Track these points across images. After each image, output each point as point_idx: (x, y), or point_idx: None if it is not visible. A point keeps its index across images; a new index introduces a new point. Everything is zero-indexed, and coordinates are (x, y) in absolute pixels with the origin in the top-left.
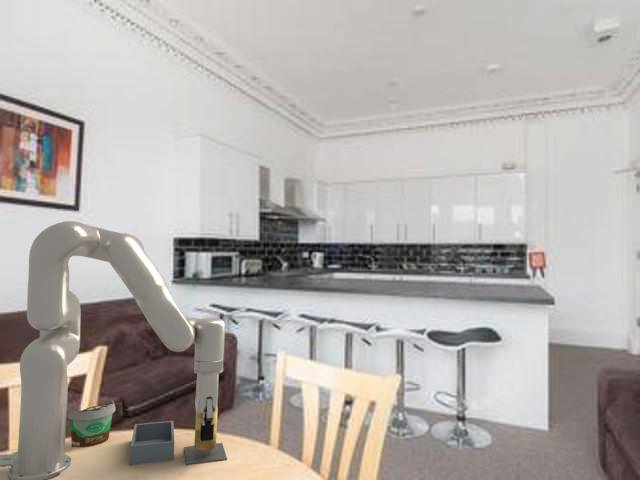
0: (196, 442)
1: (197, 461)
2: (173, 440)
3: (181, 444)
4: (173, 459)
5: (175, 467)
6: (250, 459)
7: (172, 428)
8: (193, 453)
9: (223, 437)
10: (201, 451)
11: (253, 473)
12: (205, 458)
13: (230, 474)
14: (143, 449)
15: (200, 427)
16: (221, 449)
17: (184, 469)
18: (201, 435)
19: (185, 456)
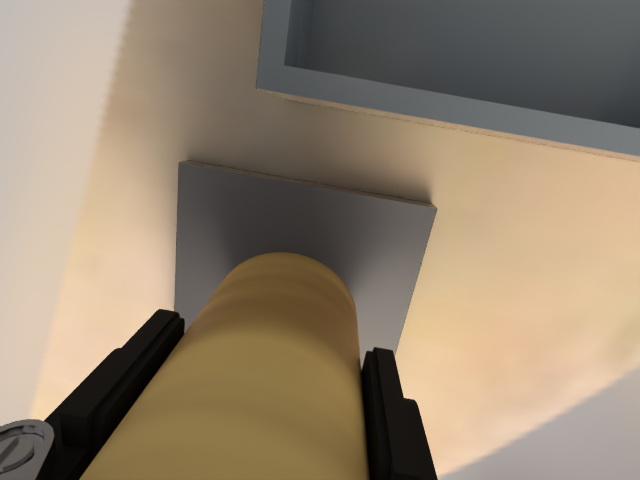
0: (243, 277)
1: (187, 231)
2: (289, 84)
3: (530, 205)
4: (284, 98)
5: (205, 97)
6: None
7: (632, 140)
8: (306, 236)
9: (479, 431)
10: None
11: (39, 416)
12: (210, 281)
13: (49, 337)
14: None
15: (152, 384)
16: None
17: (161, 145)
18: (138, 339)
19: (284, 181)
